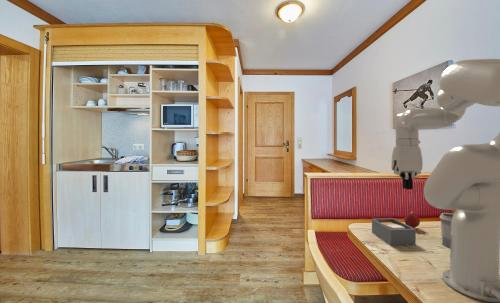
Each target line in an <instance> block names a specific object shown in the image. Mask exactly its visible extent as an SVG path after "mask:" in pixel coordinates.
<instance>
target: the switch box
mask: <svg viewBox="0 0 500 303" xmlns="http://www.w3.org/2000/svg"><path fill="white" fill-rule="evenodd" d="M384 222H392V223H394V224H397V225H400V226H403V227H405V229H390V228H388V227H387V226H385V225H383V224H382V223H384ZM416 231H417V229H416V228H412V227H410V226H408V225H406V224H405V222H402V221H400V220H399V219H396V218H393V217H388V218H387V217H386V218H385V217H384V218H371V233H372V234H374V235H375V236H376V237H378V238H379V239H381V240H382V241H383V242H385V243H386V244H387V245H389V246H416V243H417V242H416V238H417V237H416V236H417V234H416V233H417V232H416Z"/></svg>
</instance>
